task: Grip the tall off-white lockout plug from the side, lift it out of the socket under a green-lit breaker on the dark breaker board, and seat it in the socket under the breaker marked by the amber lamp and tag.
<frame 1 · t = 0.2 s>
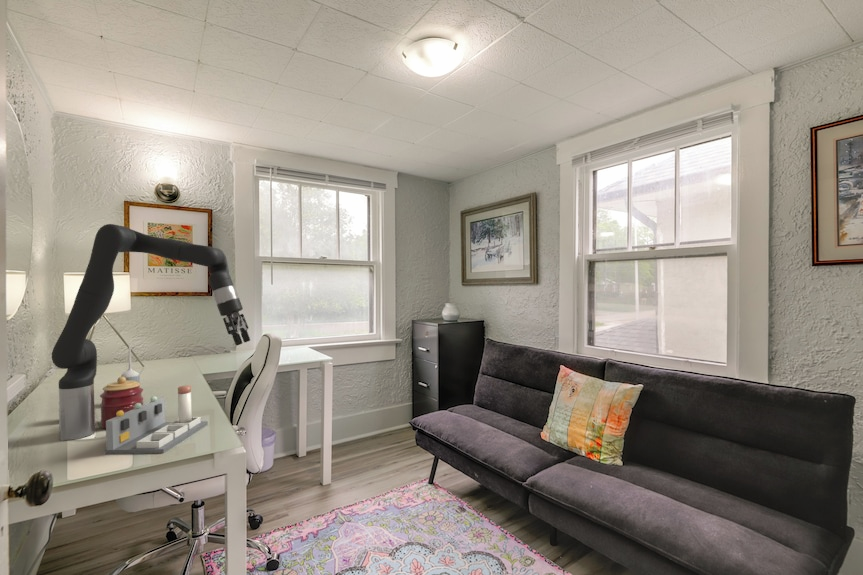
hand: (243, 343, 147), 31 cm above the table, tool tilted 20°, fingers open, 8 cm apart
breaker board: (161, 437, 139), on the table
lockout plug: (185, 425, 147), point 1 cm above the table, touching breaker board
long-necked bottle: (131, 404, 180), on the table
canister: (122, 424, 154), on the table
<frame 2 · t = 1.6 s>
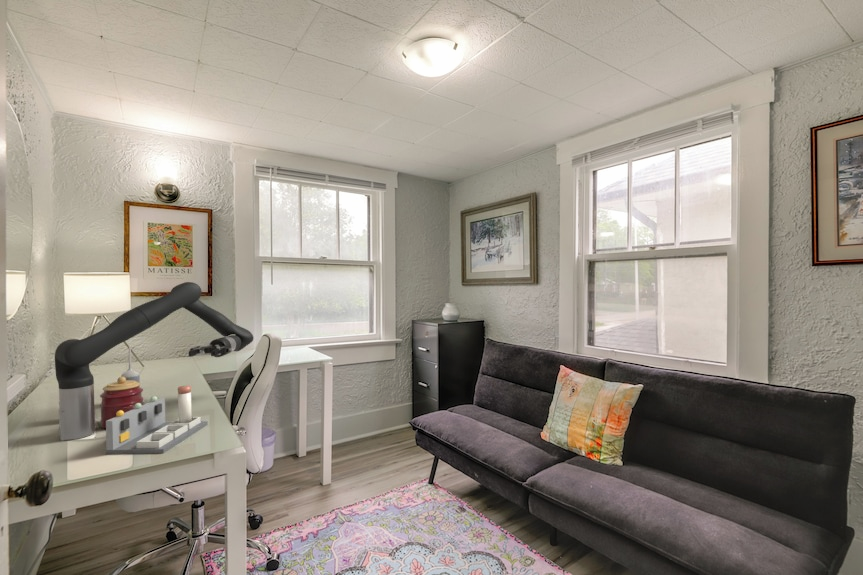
hand: (200, 353, 158), 25 cm above the table, tool horizontal, fingers open, 8 cm apart
nothing on the table moved.
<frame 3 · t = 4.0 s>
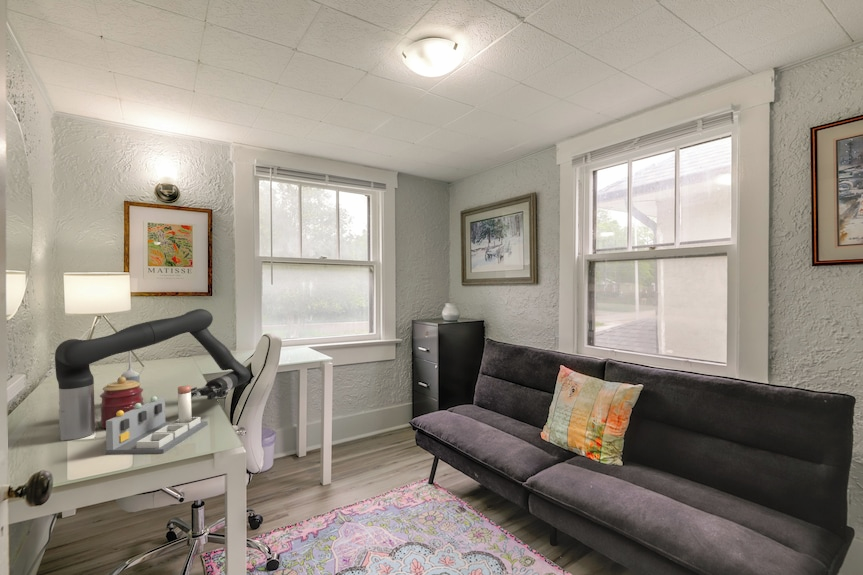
hand: (197, 397, 155), 9 cm above the table, tool horizontal, fingers open, 8 cm apart
nothing on the table moved.
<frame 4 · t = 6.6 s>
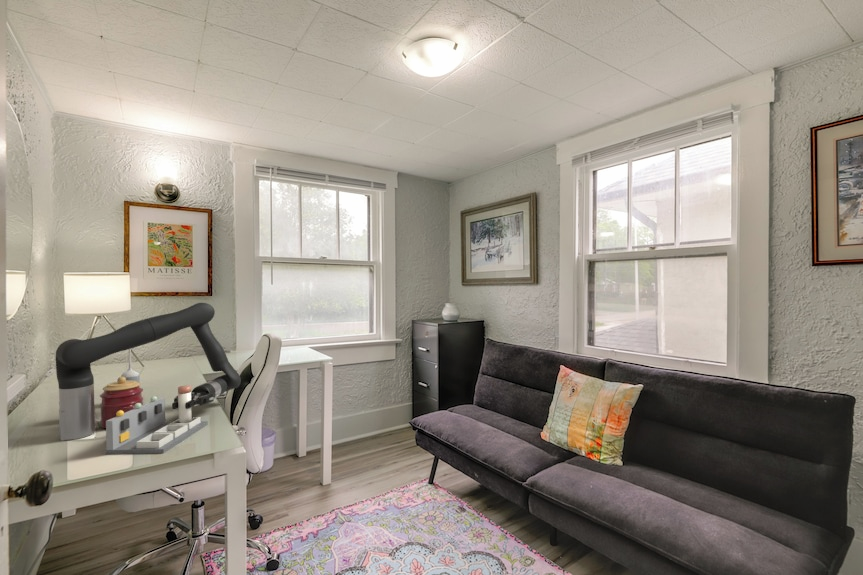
hand: (180, 406, 144), 9 cm above the table, tool horizontal, fingers closed on lockout plug, 4 cm apart
lockout plug: (185, 425, 147), point 1 cm above the table, touching breaker board, gripper
everything else where it was.
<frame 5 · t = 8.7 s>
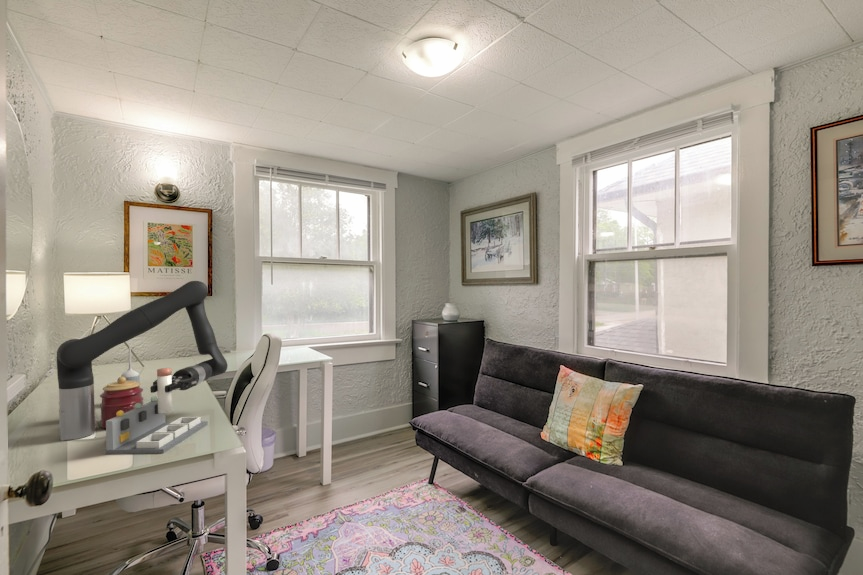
hand: (159, 389, 133), 18 cm above the table, tool horizontal, fingers closed on lockout plug, 4 cm apart
lockout plug: (165, 411, 136), point 10 cm above the table, touching gripper
everything else where it was.
when the fingers open (12 cm above the table, at t = 11.3 s): lockout plug drops 2 cm, resting on breaker board.
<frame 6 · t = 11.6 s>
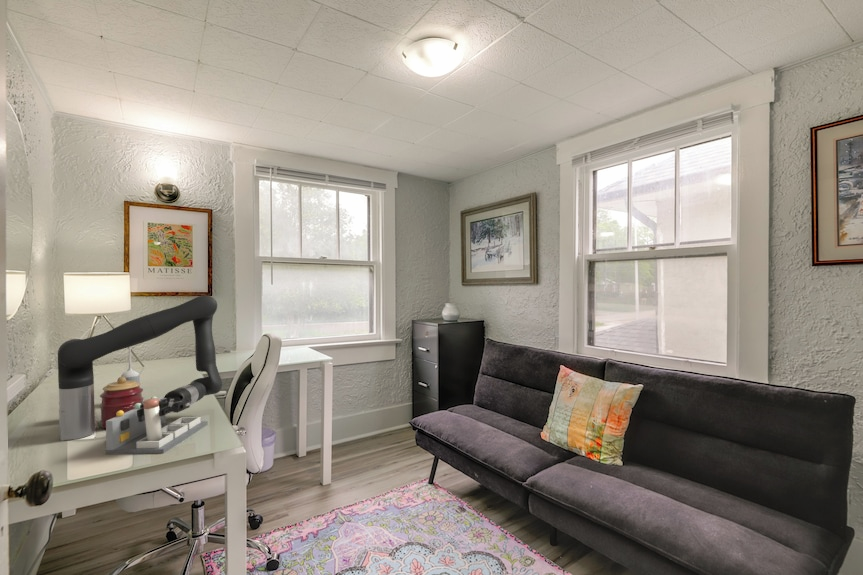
hand: (149, 413, 129), 12 cm above the table, tool horizontal, fingers open, 6 cm apart
lockout plug: (155, 443, 131), point 1 cm above the table, touching breaker board
everything else where it was.
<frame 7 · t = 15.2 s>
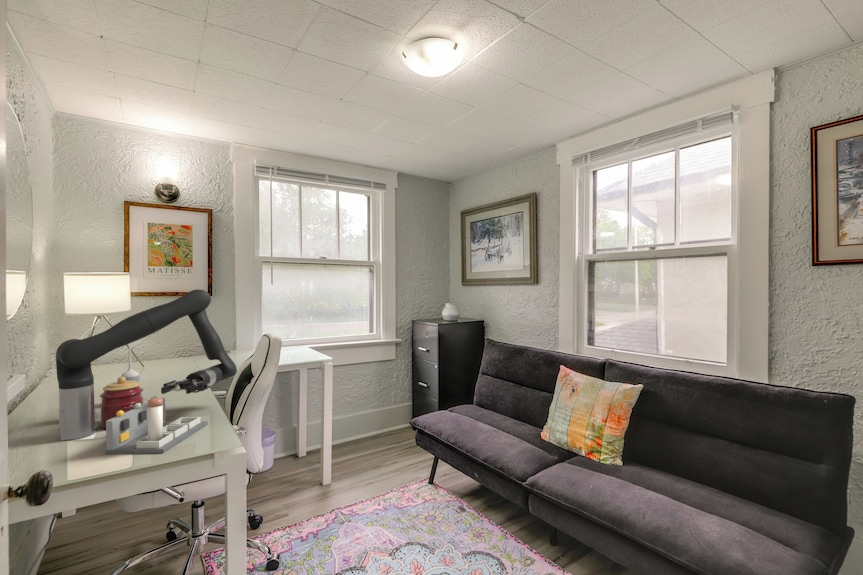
hand: (174, 390, 142), 15 cm above the table, tool horizontal, fingers open, 8 cm apart
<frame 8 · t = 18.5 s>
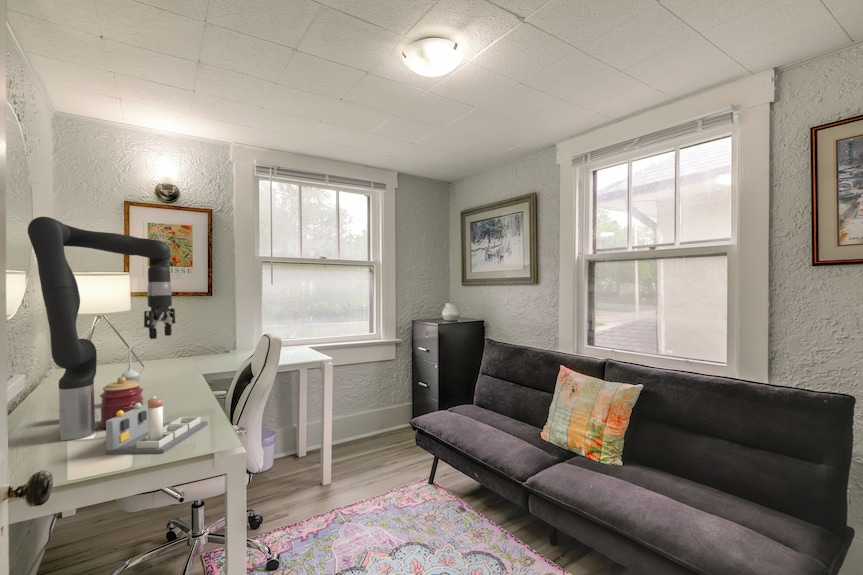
hand: (160, 337, 155), 32 cm above the table, tool pointing down, fingers open, 8 cm apart
nothing on the table moved.
at the end: lockout plug 0.1 cm from the target spot, point 1.2 cm above the table; lockout plug tilted 1°; the gripper is holding nothing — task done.
